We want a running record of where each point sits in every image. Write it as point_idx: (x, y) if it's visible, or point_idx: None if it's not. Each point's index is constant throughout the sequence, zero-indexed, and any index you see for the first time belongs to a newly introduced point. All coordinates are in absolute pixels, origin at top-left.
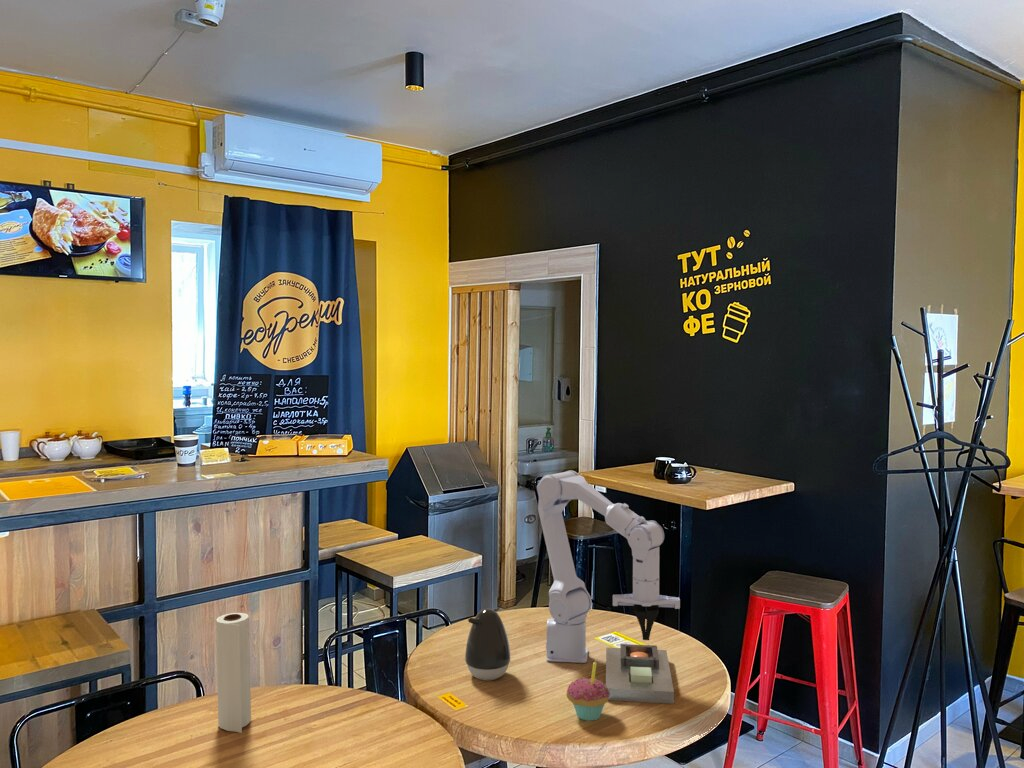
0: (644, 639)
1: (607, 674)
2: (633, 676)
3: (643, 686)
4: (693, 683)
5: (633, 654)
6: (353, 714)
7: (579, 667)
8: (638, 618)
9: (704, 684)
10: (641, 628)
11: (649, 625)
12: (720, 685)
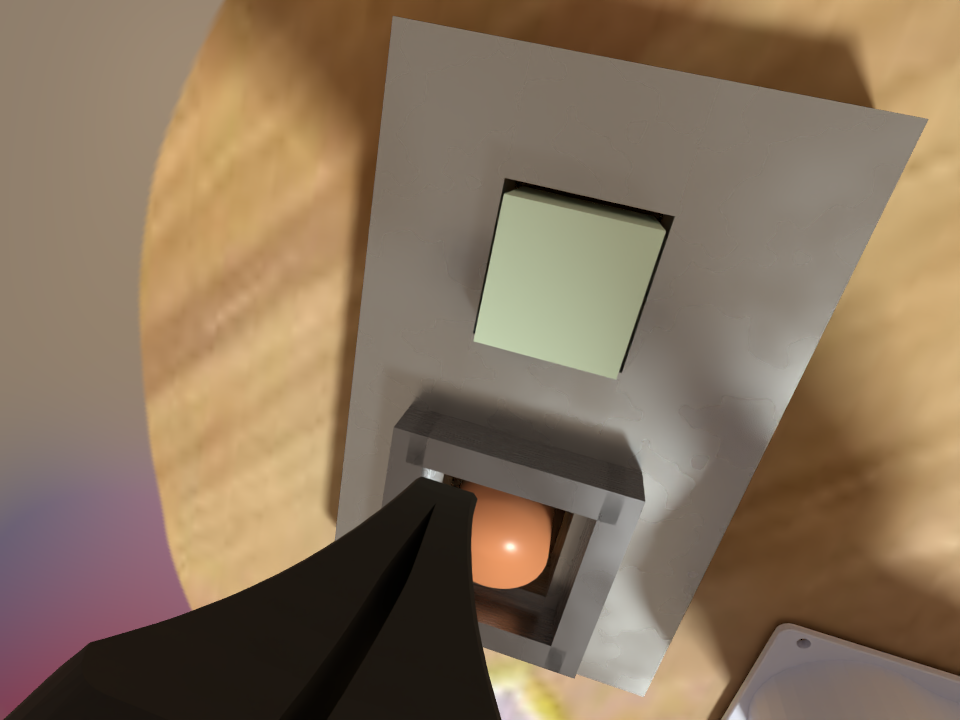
0: (461, 491)
1: (793, 366)
2: (644, 226)
3: (591, 132)
4: (269, 297)
5: (526, 562)
6: None
7: (843, 590)
8: (479, 709)
9: (218, 278)
10: (465, 574)
11: (345, 569)
12: (146, 256)
